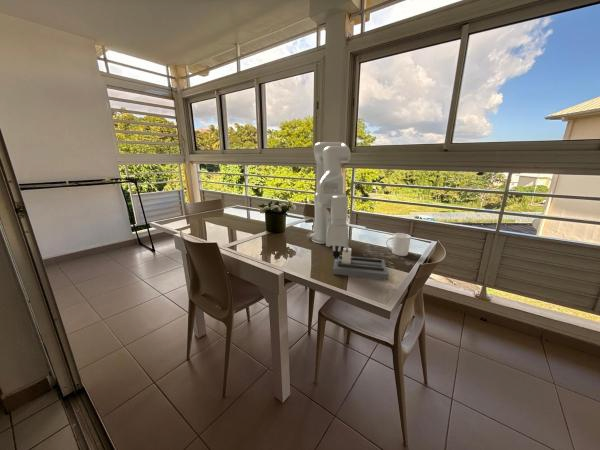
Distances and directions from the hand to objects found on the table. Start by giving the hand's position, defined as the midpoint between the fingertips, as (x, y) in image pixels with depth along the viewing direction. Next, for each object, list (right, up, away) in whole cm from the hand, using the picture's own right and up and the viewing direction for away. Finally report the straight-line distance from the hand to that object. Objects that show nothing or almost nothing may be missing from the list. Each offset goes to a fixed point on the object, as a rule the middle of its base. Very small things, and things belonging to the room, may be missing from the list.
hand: (336, 258), depth 116 cm
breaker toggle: (+5, -2, -1) cm, 5 cm away
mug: (+37, 0, +19) cm, 42 cm away
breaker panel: (+11, -5, -1) cm, 12 cm away
